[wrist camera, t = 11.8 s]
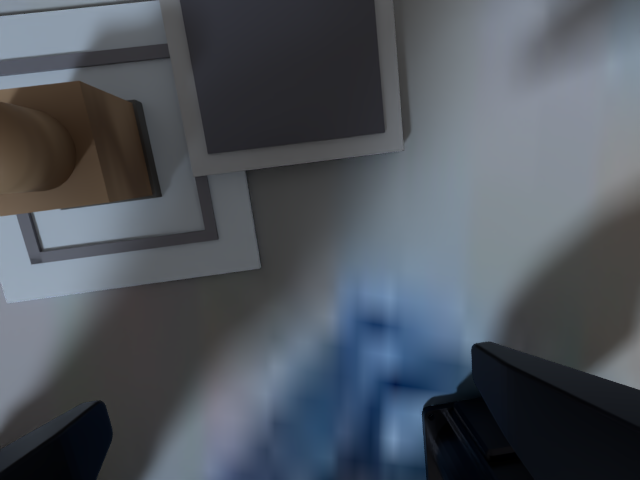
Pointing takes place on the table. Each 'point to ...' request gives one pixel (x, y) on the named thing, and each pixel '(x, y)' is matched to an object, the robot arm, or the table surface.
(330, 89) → the ink pad
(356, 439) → the table surface
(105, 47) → the board
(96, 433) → the robot arm
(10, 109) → the stamp
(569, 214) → the table surface
